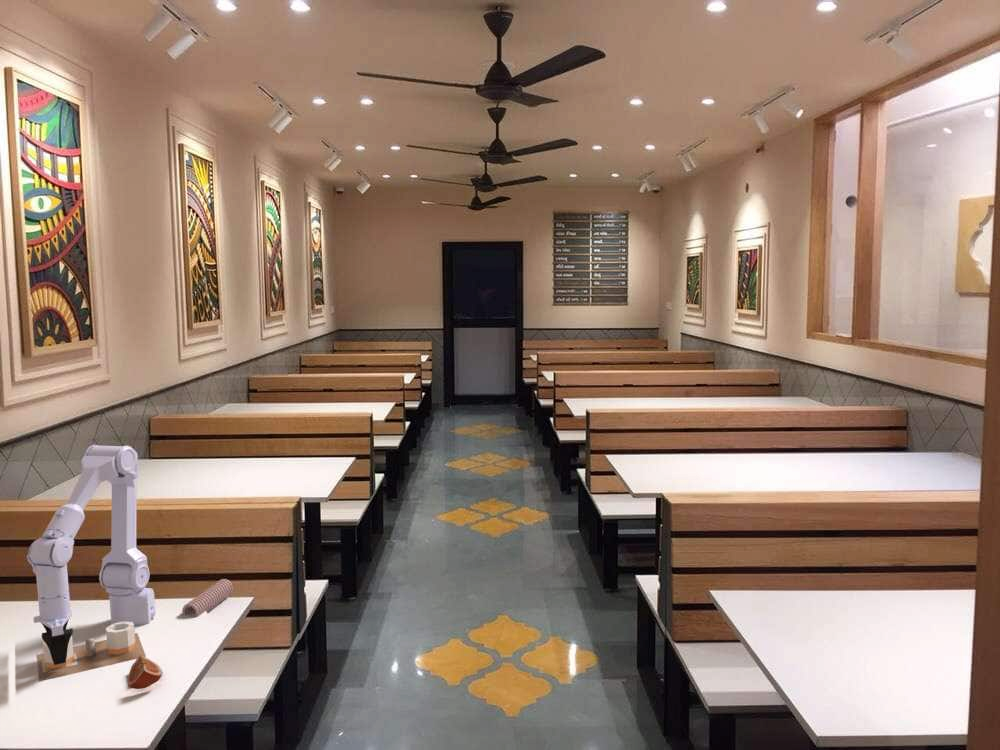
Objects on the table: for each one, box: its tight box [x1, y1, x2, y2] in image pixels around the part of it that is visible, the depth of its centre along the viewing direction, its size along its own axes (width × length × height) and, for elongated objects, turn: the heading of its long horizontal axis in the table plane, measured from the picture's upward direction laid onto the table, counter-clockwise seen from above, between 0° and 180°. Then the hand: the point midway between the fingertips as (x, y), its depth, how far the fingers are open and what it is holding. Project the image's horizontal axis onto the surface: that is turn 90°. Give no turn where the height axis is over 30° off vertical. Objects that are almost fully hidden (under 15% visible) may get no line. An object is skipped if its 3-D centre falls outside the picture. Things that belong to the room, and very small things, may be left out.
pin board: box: [36, 632, 147, 682], centre depth 175 cm, size 20×14×5 cm
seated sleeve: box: [105, 621, 136, 655], centre depth 178 cm, size 5×5×5 cm
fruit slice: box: [126, 655, 164, 690], centre depth 165 cm, size 8×7×5 cm
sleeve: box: [42, 635, 74, 669], centre depth 172 cm, size 5×5×5 cm
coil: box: [181, 578, 234, 618], centre depth 204 cm, size 5×5×18 cm
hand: (59, 656), depth 172 cm, fingers open, 7 cm apart
